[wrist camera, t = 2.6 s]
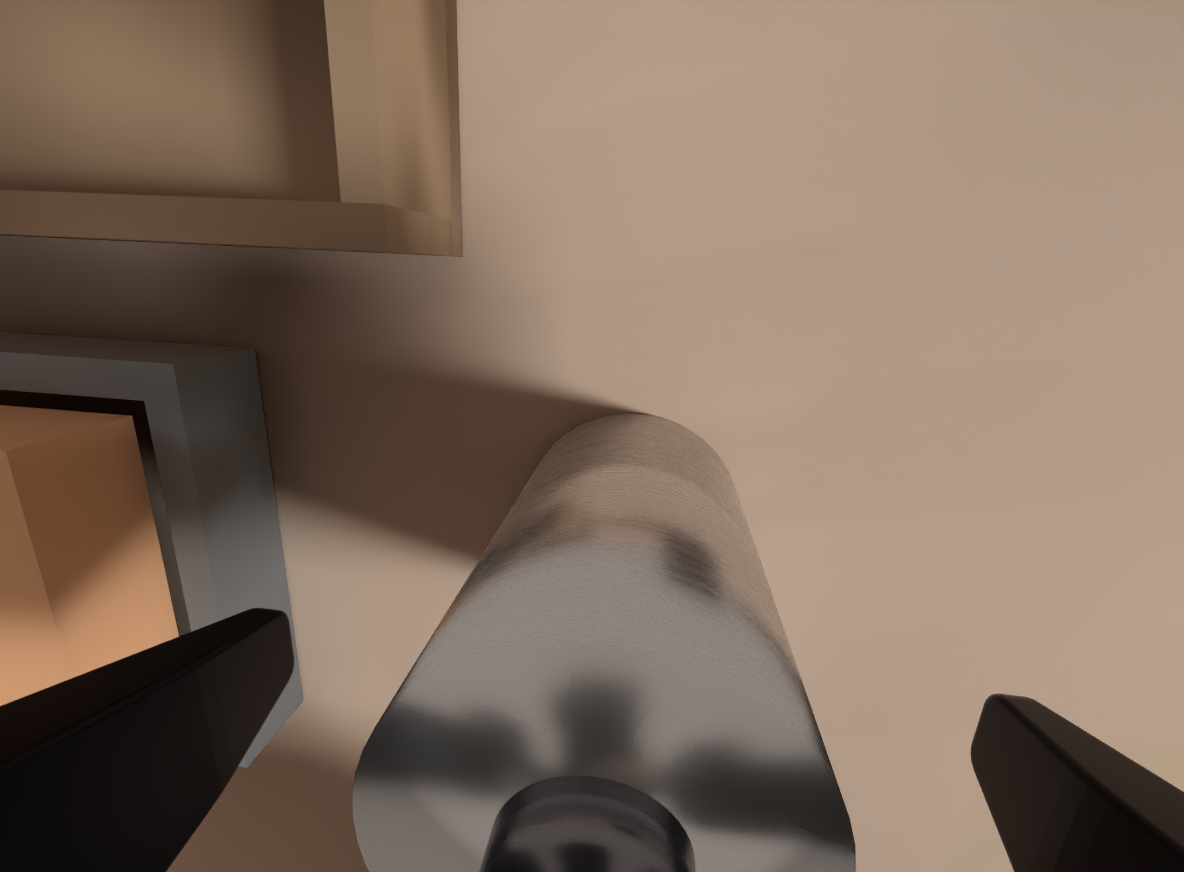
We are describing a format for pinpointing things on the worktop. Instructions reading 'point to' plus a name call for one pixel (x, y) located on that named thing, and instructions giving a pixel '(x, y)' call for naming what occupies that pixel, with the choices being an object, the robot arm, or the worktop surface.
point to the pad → (74, 548)
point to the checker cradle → (188, 465)
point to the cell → (607, 688)
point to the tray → (232, 123)
